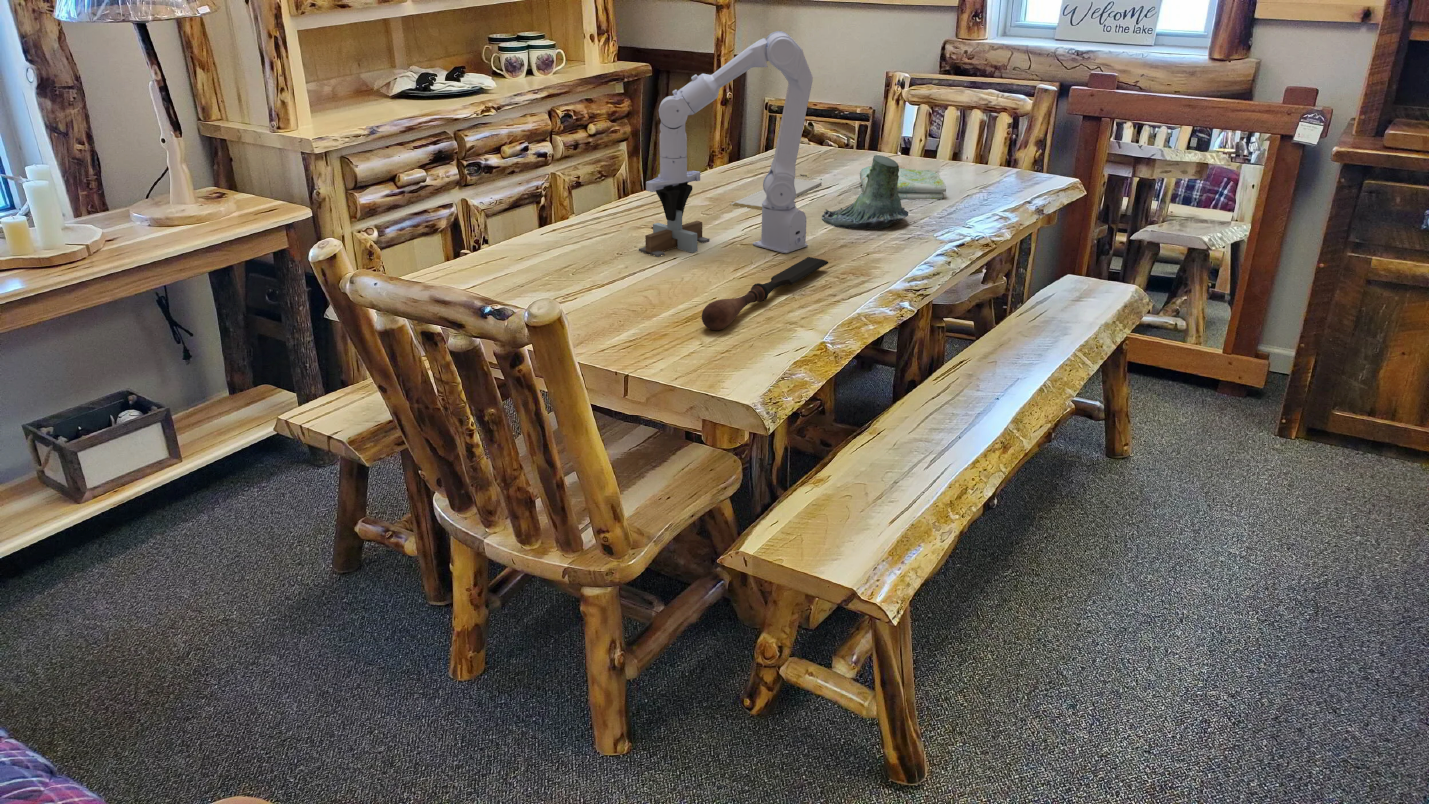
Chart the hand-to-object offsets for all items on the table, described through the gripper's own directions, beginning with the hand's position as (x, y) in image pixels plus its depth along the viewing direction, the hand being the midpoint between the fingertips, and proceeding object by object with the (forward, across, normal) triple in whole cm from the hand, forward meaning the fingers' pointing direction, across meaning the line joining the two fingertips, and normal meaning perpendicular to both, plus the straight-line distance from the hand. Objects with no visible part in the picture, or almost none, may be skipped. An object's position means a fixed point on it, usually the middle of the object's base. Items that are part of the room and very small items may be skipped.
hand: (674, 219), depth 221 cm
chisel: (+6, +12, +37) cm, 39 cm away
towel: (+7, -77, +8) cm, 77 cm away
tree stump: (+6, -46, +18) cm, 50 cm away
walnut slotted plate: (+6, 0, 0) cm, 6 cm away
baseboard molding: (+7, -51, -14) cm, 53 cm away
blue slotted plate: (+6, 0, 0) cm, 6 cm away
